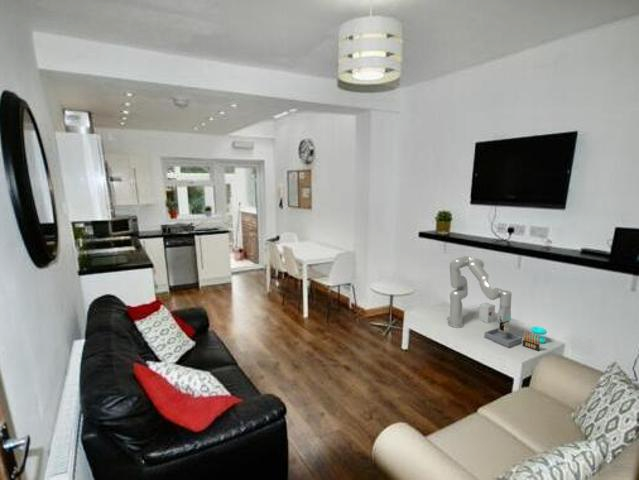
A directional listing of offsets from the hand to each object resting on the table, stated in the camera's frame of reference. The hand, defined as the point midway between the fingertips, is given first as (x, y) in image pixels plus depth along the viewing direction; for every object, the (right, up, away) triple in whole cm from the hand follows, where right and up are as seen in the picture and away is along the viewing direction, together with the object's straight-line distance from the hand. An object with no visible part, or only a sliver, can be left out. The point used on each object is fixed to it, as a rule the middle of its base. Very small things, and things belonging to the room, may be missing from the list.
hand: (503, 328), depth 257 cm
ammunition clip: (+14, -12, -11) cm, 21 cm away
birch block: (0, -2, 0) cm, 2 cm away
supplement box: (+6, -3, +38) cm, 39 cm away
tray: (0, -9, +2) cm, 10 cm away
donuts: (+26, -9, 0) cm, 28 cm away
